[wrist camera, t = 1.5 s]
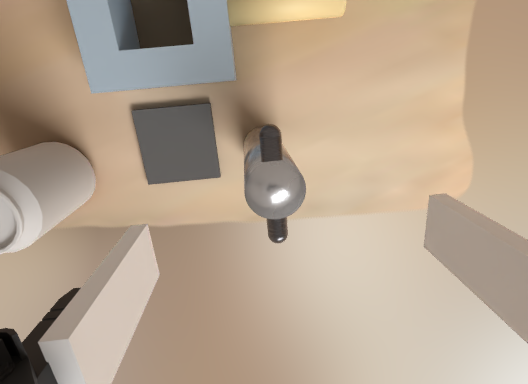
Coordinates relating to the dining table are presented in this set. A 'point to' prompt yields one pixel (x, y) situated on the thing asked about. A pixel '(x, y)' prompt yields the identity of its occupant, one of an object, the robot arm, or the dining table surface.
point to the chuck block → (175, 57)
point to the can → (40, 191)
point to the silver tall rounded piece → (271, 180)
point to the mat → (177, 143)
